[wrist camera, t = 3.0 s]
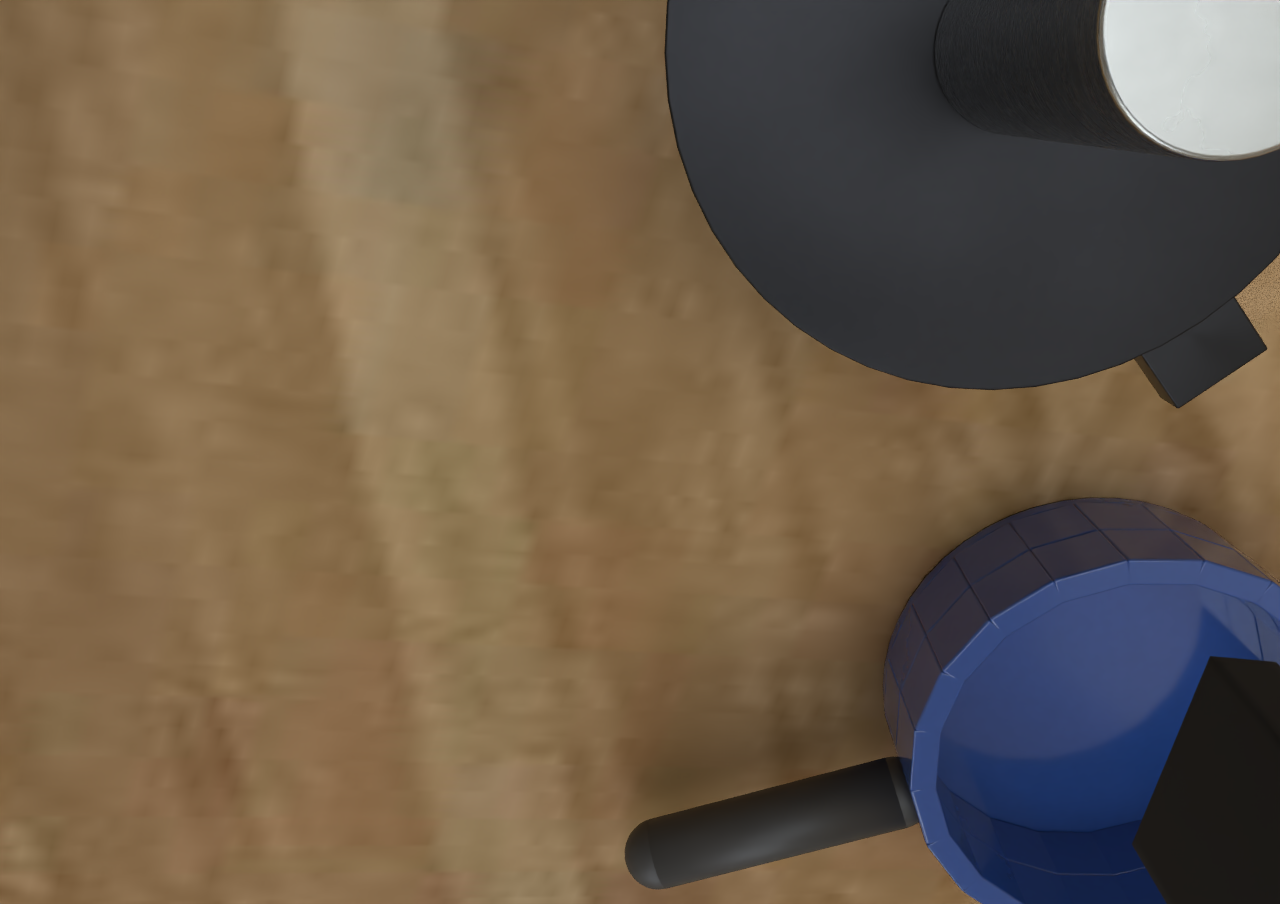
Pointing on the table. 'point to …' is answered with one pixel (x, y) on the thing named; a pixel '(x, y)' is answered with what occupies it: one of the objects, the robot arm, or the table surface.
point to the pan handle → (771, 824)
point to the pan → (1062, 689)
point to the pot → (1202, 355)
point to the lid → (984, 171)
